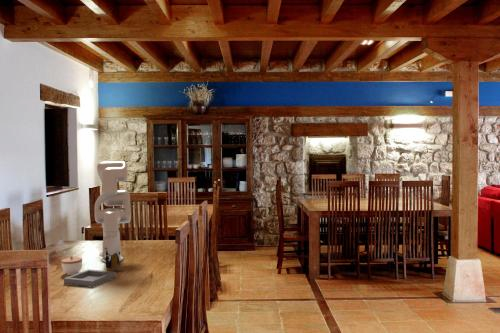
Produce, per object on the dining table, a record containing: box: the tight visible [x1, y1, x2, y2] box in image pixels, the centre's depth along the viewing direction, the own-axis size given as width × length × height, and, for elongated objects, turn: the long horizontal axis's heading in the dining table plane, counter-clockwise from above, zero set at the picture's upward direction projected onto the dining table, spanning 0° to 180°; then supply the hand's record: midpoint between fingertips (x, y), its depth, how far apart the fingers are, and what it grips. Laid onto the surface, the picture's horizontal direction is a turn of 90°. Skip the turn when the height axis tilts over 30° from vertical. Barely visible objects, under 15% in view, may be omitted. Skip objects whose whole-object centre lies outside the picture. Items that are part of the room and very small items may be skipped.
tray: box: [63, 268, 117, 288], centre depth 243 cm, size 18×18×3 cm
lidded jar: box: [60, 256, 83, 276], centre depth 259 cm, size 11×11×9 cm
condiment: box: [105, 251, 124, 273], centre depth 260 cm, size 7×8×12 cm
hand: (112, 266), depth 260 cm, fingers closed on condiment, 6 cm apart
